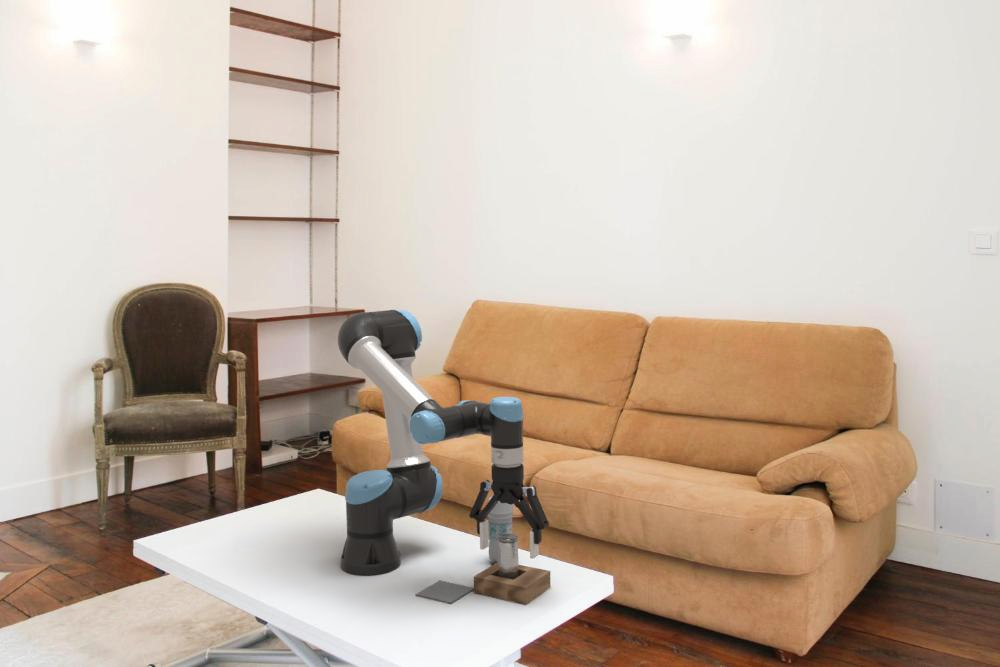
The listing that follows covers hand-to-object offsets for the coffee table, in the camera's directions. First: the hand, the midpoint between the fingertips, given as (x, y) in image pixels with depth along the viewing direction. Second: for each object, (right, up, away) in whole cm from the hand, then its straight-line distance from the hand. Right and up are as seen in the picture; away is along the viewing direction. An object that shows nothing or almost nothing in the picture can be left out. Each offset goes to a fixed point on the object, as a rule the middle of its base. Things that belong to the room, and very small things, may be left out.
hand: (509, 552), depth 216 cm
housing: (+1, -9, +1) cm, 9 cm away
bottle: (-2, -7, +20) cm, 21 cm away
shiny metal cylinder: (0, -9, +1) cm, 9 cm away
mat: (-15, -9, -1) cm, 18 cm away
